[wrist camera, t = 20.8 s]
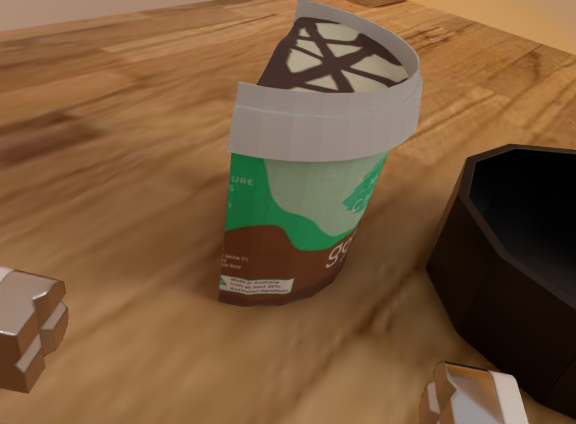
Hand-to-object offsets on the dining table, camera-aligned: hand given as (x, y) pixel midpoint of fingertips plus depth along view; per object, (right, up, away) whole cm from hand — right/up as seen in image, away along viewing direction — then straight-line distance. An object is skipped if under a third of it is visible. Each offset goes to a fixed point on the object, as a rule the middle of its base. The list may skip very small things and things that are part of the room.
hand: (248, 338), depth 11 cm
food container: (+2, +1, +14) cm, 14 cm away
